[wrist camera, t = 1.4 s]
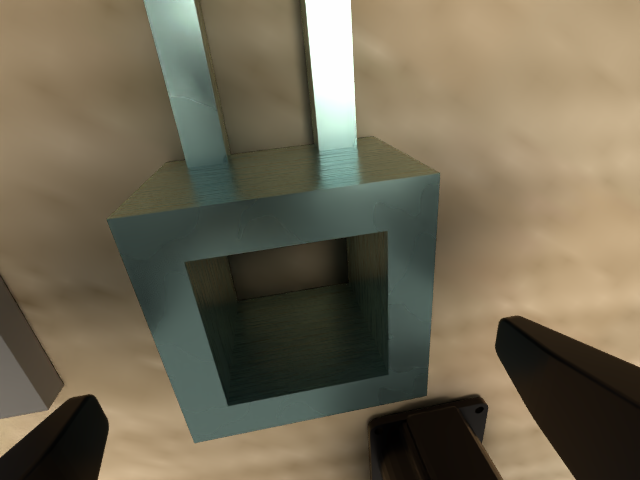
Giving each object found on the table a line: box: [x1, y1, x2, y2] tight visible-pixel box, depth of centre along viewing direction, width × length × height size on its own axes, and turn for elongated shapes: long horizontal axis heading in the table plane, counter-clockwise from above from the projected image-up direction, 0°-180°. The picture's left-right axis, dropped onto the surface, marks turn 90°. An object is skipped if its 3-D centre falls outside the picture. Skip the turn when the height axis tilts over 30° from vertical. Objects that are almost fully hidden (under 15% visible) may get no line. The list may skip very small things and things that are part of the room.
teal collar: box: [107, 0, 440, 443], centre depth 10 cm, size 12×7×5 cm, turn 5°
